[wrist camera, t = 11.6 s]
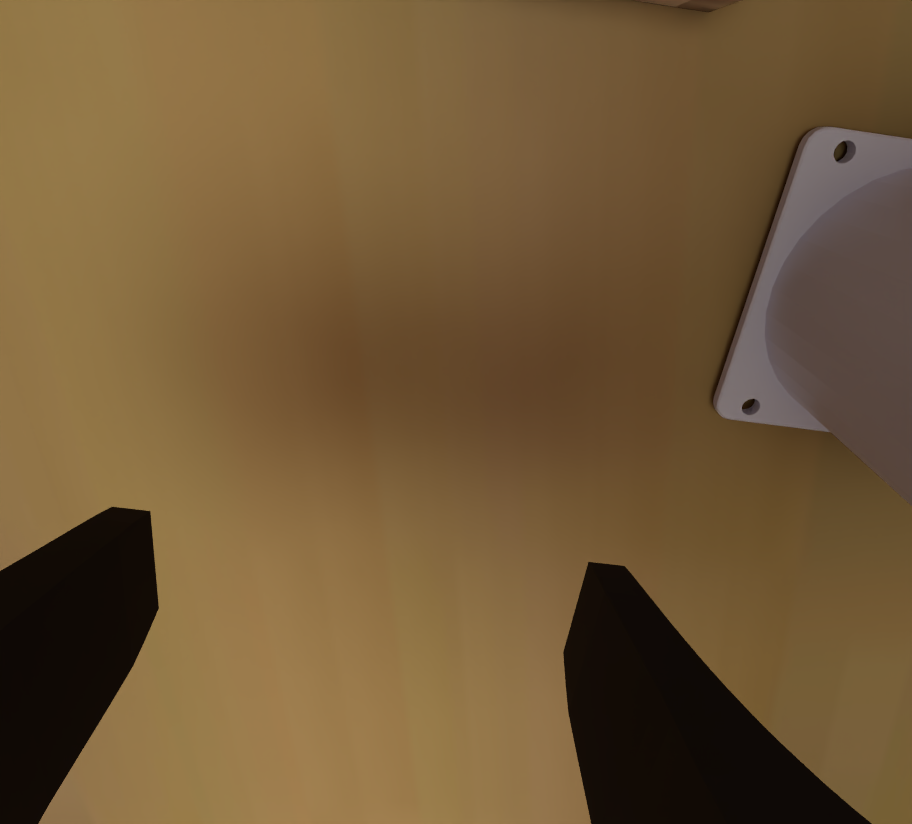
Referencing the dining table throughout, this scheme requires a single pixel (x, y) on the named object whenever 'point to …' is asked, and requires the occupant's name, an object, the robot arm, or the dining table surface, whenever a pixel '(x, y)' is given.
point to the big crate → (694, 4)
